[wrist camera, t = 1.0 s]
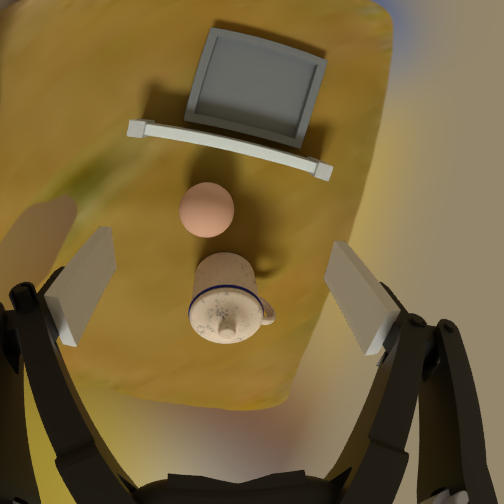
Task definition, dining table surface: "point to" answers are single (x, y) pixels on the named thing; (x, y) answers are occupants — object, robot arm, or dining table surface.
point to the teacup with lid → (227, 300)
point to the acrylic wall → (229, 145)
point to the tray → (255, 87)
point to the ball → (206, 209)
